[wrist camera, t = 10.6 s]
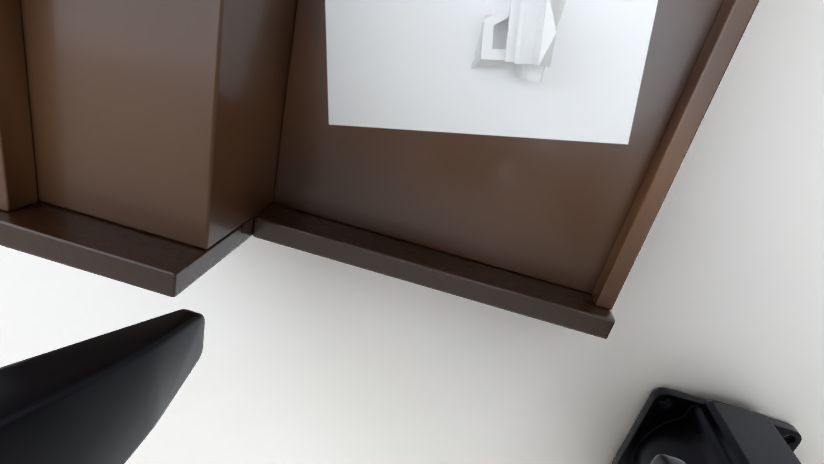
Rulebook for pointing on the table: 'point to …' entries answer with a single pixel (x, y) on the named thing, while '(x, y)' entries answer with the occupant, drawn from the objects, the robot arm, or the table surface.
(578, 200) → the wooden step tray
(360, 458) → the table surface
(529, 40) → the adhesive hook
